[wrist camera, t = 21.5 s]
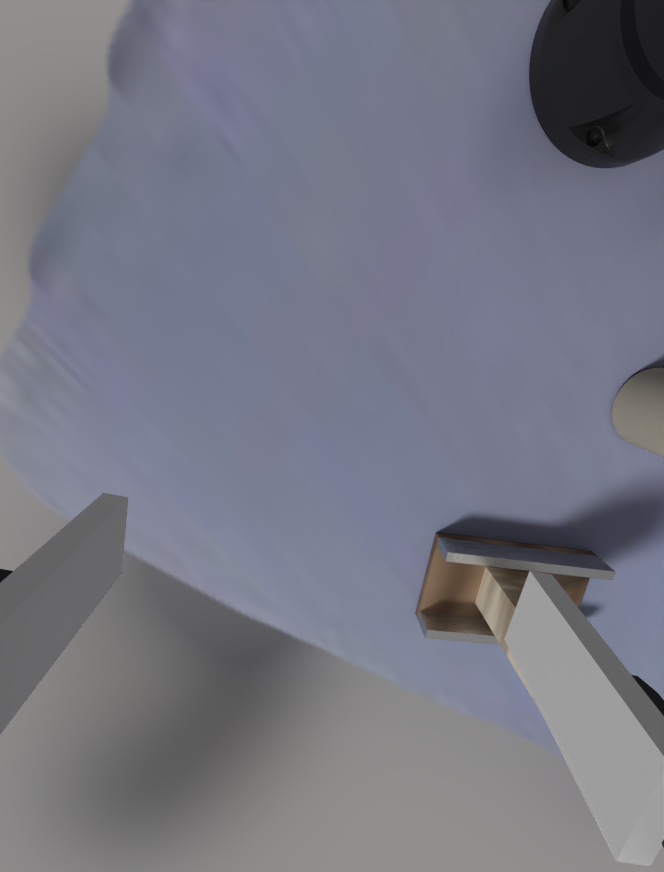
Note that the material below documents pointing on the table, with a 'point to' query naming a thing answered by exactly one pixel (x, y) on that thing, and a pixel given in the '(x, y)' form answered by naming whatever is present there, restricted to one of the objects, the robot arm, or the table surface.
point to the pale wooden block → (501, 605)
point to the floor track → (463, 571)
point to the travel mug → (642, 411)
